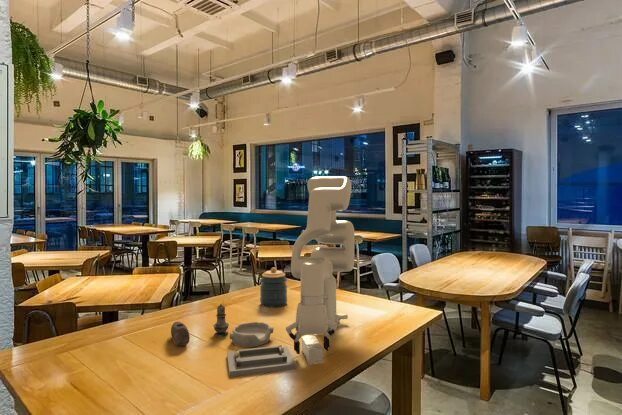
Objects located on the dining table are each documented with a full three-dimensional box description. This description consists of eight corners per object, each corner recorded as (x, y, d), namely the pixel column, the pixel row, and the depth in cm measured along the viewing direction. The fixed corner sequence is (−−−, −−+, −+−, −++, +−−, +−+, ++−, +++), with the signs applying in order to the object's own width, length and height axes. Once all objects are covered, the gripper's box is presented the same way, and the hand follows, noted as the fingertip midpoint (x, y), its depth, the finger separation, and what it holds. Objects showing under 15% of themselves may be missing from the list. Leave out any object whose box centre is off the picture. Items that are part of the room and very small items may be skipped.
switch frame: (286, 350, 134) (286, 338, 134) (296, 368, 120) (296, 355, 120) (227, 356, 129) (226, 344, 128) (229, 376, 115) (229, 362, 115)
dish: (276, 336, 147) (276, 323, 146) (259, 351, 134) (259, 336, 133) (242, 332, 151) (242, 319, 151) (222, 345, 138) (222, 331, 138)
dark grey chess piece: (225, 337, 145) (225, 305, 144) (210, 336, 146) (210, 304, 146) (231, 332, 151) (231, 301, 150) (217, 330, 152) (217, 300, 151)
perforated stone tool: (168, 335, 147) (168, 317, 147) (182, 333, 150) (182, 315, 149) (174, 350, 134) (174, 330, 133) (190, 347, 136) (190, 327, 136)
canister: (286, 307, 182) (286, 270, 181) (258, 307, 182) (258, 270, 181) (288, 299, 195) (288, 264, 194) (262, 299, 195) (261, 264, 194)
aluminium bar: (314, 349, 135) (314, 335, 135) (322, 363, 124) (322, 348, 124) (301, 351, 134) (301, 336, 134) (308, 365, 123) (309, 349, 123)
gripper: (333, 294, 134) (333, 344, 134) (283, 298, 129) (283, 349, 130) (340, 300, 127) (340, 352, 127) (288, 304, 122) (288, 358, 123)
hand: (311, 351), depth 129 cm, fingers open, 9 cm apart
